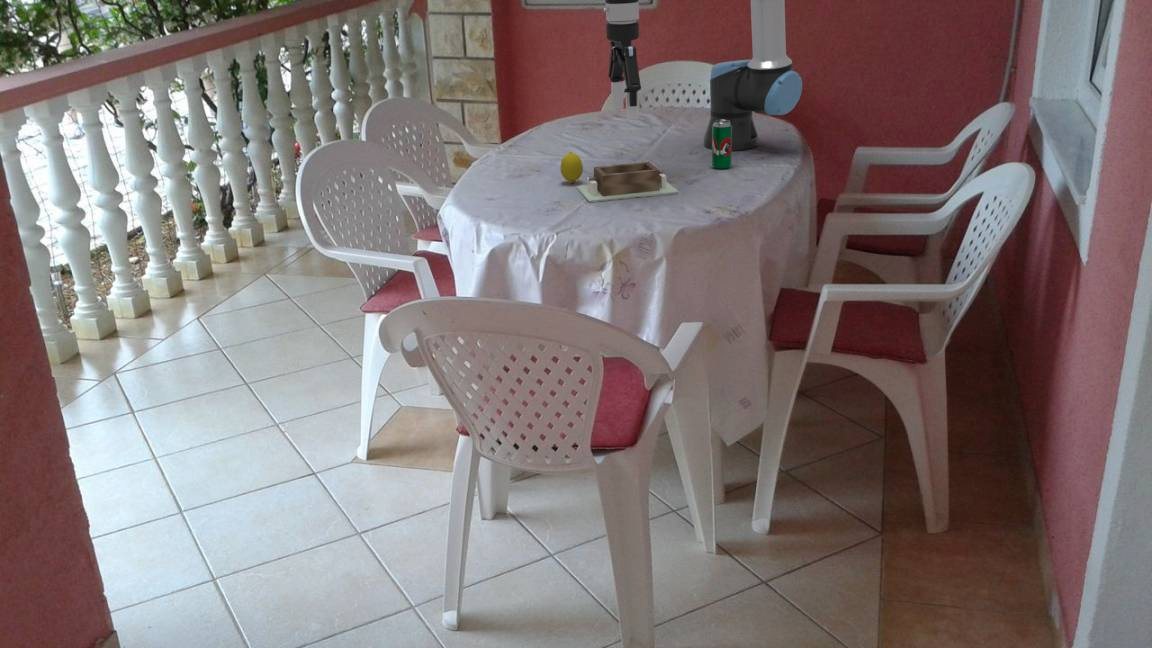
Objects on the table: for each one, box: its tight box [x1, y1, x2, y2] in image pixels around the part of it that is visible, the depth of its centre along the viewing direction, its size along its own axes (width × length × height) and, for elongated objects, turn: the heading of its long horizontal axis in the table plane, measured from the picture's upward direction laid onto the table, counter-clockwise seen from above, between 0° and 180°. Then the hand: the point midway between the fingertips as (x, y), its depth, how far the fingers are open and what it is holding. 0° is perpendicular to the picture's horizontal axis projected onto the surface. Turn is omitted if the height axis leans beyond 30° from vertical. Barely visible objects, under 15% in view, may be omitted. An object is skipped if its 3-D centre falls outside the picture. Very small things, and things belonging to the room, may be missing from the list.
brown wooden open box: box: [593, 161, 660, 196], centre depth 250 cm, size 14×9×5 cm, turn 102°
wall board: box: [575, 169, 680, 203], centre depth 250 cm, size 22×14×4 cm, turn 102°
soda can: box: [711, 120, 733, 170], centre depth 266 cm, size 5×5×12 cm
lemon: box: [560, 151, 584, 184], centre depth 258 cm, size 6×6×8 cm
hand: (624, 114), depth 244 cm, fingers open, 13 cm apart
